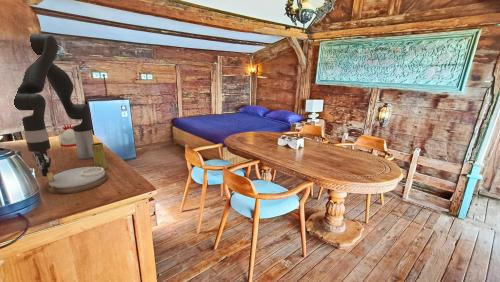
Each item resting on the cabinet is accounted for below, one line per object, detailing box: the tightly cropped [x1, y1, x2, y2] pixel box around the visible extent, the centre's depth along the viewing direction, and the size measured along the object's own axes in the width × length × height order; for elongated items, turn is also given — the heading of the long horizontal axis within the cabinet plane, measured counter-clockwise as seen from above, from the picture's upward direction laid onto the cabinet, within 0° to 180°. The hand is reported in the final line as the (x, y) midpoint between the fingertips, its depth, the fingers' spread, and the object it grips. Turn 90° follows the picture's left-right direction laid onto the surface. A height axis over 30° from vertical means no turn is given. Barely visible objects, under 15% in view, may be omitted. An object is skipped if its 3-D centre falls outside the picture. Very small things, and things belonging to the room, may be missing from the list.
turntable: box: [46, 166, 106, 189], centre depth 112 cm, size 22×22×6 cm
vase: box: [92, 142, 108, 170], centre depth 129 cm, size 6×6×14 cm
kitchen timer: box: [59, 124, 77, 148], centre depth 172 cm, size 14×14×15 cm
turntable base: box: [45, 170, 109, 195], centre depth 113 cm, size 24×24×3 cm
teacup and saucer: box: [55, 133, 63, 142], centre depth 186 cm, size 9×8×4 cm
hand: (45, 175), depth 107 cm, fingers closed
